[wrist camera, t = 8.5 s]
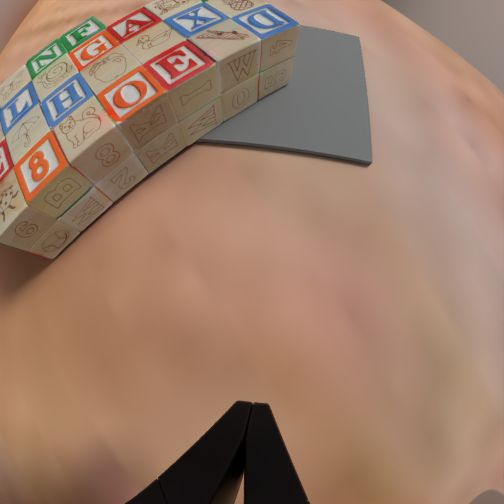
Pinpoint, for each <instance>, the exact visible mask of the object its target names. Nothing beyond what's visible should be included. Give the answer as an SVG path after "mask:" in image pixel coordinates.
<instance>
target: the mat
mask: <svg viewBox="0 0 504 504" xmlns="http://www.w3.org/2000/svg"><path fill="white" fill-rule="evenodd" d="M196 141H197V142H212V143H224V144H236V145H246V146H255V147H264V148H273V149H280V150H288V151H295V152H302V153H309V154H315V155H321V156H327V157H333V158H339V159H344V160H350V161H355V162H360V163H365V164H371V163H372V145H371V130H370V118H369V107H368V97H367V88H366V80H365V73H364V65H363V59H362V52H361V46H360V40H359V37H357V36H353V35H348V34H344V33H339V32H335V31H330V30H325V29H319V28H314V27H308V26H301V25H300V27H299V33H298V39H297V45H296V50H295V54H294V62H293V68H292V74H291V78H290V82H289V83H288V84H286V85H285V86H283V87H281V88H279V89H277V90H275V91H273V92H272V93H270V94H268V95H266V96H264V97H263V98H261V99H258V100H257V102H255V103H254V104H252V105H251V106H249V107H247V108H246V109H244V110H242V111H241V112H239V113H238V114H236V115H234V116H233V117H231V118H229V119H228V120H226V121H223V122H222V123H221V124H220V125H219V126H217V127H216V128H214V129H213V130H211V131H210V132H208V133H207V134H205V135H204V136H202V137H201V138H199V139H198V140H196Z"/></svg>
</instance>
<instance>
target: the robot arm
mask: <svg viewBox="0 0 504 504" xmlns="http://www.w3.org/2000/svg"><path fill="white" fill-rule="evenodd" d="M243 475H244V504H310V502H309V501H307V500H308V498H307V496H306V493H305V491H304V489H303V486H302V484H301V482H300V479H299V477H298V475H297V472H296V470H295V467H294V465H293V463H292V460H291V458H290V455H289V453H288V451H287V448H286V446H285V443H284V441H283V438H282V436H281V433H280V431H279V428H278V426H277V423H276V421H275V418H274V416H273V413H272V411H271V408H270V406H269V404H267V403H257V402H255V403H253V404H252V402H248V401H236V402H235V403H234V404H233V405H232V406H231V407H230V409H229V410H228V411H227V412H226V413H225V414H224V415H223V416H222V417H221V418H220V419H219V420H218V421H217V422H216V423H215V424H214V425H213V426H212V427H211V428H210V429H209V430H208V431H207V432H206V433H205V434H204V435H203V436H202V437H201V438H200V439H199V440H198V441H197V442H196V443H195V444H194V445H193V446H192V447H191V448H189V449H188V450H187V451H186V452H185V453H184V454H183V455H182V456H181V457H180V458H179V459H178V460H177V461H176V462H175V463H173V464H172V465H171V466H170V467H169V468H168V469H167V470H166V471H165V472H164V473H162V474H161V475H160V476H159V477H158V479H156V480H154V481H153V482H152V483H151V484H150V485H149V486H148V487H146V488H145V489H144V490H143V491H141V492H140V493H139V494H138V495H136V496H135V497H134V498H132V499H131V500H129V501H128V502H126V503H125V504H234V503H235V500H236V497H237V494H238V491H239V488H240V485H241V482H242V478H243Z"/></svg>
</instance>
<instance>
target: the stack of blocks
mask: <svg viewBox="0 0 504 504" xmlns="http://www.w3.org/2000/svg"><path fill="white" fill-rule="evenodd" d="M299 27H300V24H299V23H298V22H296V21H295V20H293V19H292V18H290V17H289V16H287V15H286V14H284V13H283V12H281V11H279V10H278V9H276V8H275V7H273V6H271V5H269V4H267V3H266V2H265V1H263V0H155V1H153V2H151V3H149V4H147V5H145V6H144V7H143V8H141V9H139V10H137V11H135V12H133V13H131V14H129V15H127V16H126V17H124V18H122V19H120V20H118V21H117V22H115V23H113V24H111V25H110V26H108V27H107V26H105V25H104V24H103V23H102V22H101V21H100V20H98V19H97V18H96V17H95V16H92V17H90V18H89V19H87V20H85V21H84V22H82V23H80V24H79V25H77V26H76V27H74V28H73V29H71V30H70V31H68V32H67V33H65V34H64V35H62V36H61V37H60V38H58V39H56V40H54V41H53V42H52V43H50V44H49V45H48V46H46V47H45V48H43V49H42V50H41V51H39V52H38V53H37V54H36V55H34V56H33V57H32V58H31V59H29V60H28V62H27V64H24V65H23V66H22V67H20V68H19V69H18V70H17V71H16V72H14V73H13V74H12V75H11V76H10V77H9V78H8V79H7V80H5V81H4V82H3V83H2V84H1V85H0V243H1V244H4V245H8V246H11V247H14V248H17V249H20V250H25V251H27V252H28V253H32V254H35V255H38V256H42V257H45V258H48V259H53V258H55V257H56V256H57V255H58V254H59V253H60V252H61V251H62V250H63V249H64V248H65V247H66V246H67V245H68V244H69V243H70V242H71V241H73V240H74V239H75V238H76V237H77V236H78V235H79V233H80V232H81V231H83V230H84V229H85V228H86V227H87V226H88V225H89V224H91V223H92V222H93V221H94V220H95V219H96V218H97V217H98V216H100V215H101V214H102V213H103V212H104V211H105V210H106V209H107V208H109V207H110V206H111V205H112V204H113V202H114V201H116V200H117V199H119V198H120V197H121V196H122V195H123V194H125V193H126V192H127V191H128V190H129V189H131V188H132V187H133V186H134V185H136V184H137V183H138V182H140V181H141V180H142V179H143V178H144V177H146V176H147V175H148V174H149V173H151V172H152V171H154V170H155V169H157V168H158V167H159V166H161V165H162V164H163V163H165V162H166V161H167V160H169V159H170V158H171V157H173V156H174V155H176V154H177V153H178V152H180V151H181V150H182V149H184V148H185V147H186V146H188V145H191V144H192V143H193V142H195V141H196V140H198V139H199V138H201V137H202V136H204V135H205V134H207V133H208V132H210V131H211V130H213V129H214V128H216V127H217V126H219V125H220V124H221V123H222V122H223V121H226V120H228V119H229V118H231V117H233V116H234V115H236V114H238V113H239V112H241V111H242V110H244V109H246V108H247V107H249V106H251V105H252V104H254V103H255V102H257V100H258V99H261V98H263V97H264V96H266V95H268V94H270V93H272V92H273V91H275V90H277V89H279V88H281V87H283V86H285V85H286V84H288V83H289V82H290V78H291V74H292V68H293V62H294V54H295V50H296V45H297V39H298V33H299Z"/></svg>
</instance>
